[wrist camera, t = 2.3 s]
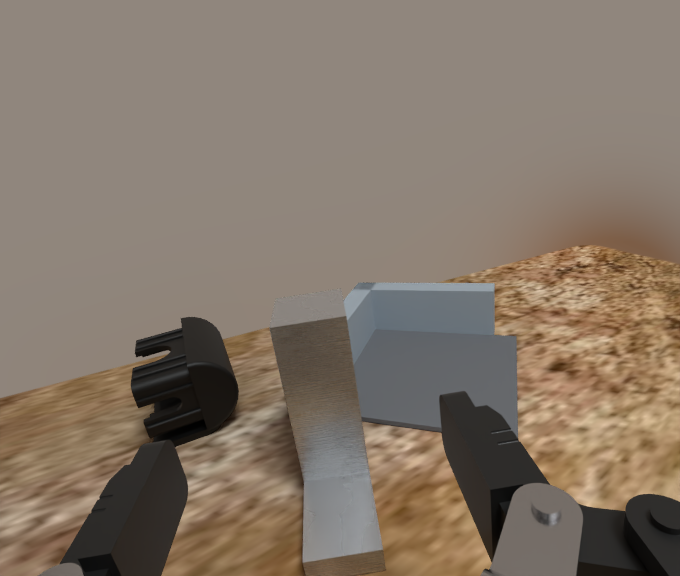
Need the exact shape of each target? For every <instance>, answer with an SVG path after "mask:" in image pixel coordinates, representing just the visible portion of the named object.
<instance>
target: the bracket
mask: <svg viewBox="0 0 680 576" xmlns="http://www.w3.org/2000/svg"><path fill="white" fill-rule="evenodd" d="M270 332H271V337H272V341H273V346H274V350H275V355H276V359H277V364H278V368H279V373H280V377H281V382H282V386H283V390H284V395H285V399H286V404H287V408H288V413H289V417H290V422H291V426H292V431H293V435H294V440H295V444H296V448H297V453H298V457H299V462H300V466H301V471H302V475H303V480H304V513H303V566H304V570H305V574H306V576H354V575H360V574H366V573H372V572H378V571H384V570H386V568H385V561H384V554H383V547H382V542H381V536H380V530H379V524H378V519H377V513H376V507H375V501H374V496H373V490H372V484H371V478H370V473H369V466H368V459H367V452H366V446H365V439H364V432H363V425H362V419H361V412H360V405H359V398H358V391H357V385H356V378H355V371H354V364H353V358H352V351H351V344H350V337H349V330H348V324H347V317H346V312H345V306H344V301H343V296H342V291H341V289H335V290H329V291H322V292H316V293H310V294H303V295H296V296H290V297H283V298H277V299H275V304H274V309H273V314H272V318H271V323H270Z"/></svg>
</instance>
